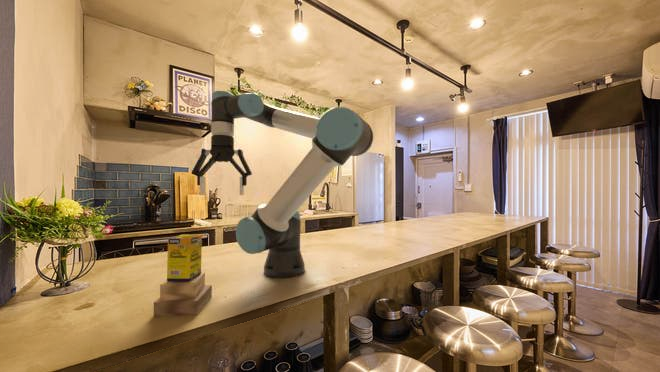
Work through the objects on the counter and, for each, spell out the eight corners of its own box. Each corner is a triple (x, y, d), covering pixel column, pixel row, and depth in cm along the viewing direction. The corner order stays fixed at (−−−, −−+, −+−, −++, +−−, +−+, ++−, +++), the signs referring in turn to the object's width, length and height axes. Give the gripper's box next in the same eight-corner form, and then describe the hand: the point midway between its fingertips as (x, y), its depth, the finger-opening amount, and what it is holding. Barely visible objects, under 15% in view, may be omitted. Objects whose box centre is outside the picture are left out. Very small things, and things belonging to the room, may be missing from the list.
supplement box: (190, 281, 63) (190, 238, 64) (166, 281, 63) (166, 238, 64) (201, 274, 69) (202, 234, 70) (180, 274, 69) (180, 234, 70)
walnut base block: (211, 299, 72) (211, 285, 72) (197, 316, 62) (197, 300, 62) (174, 300, 71) (174, 286, 71) (153, 319, 61) (153, 302, 61)
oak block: (204, 286, 71) (204, 272, 71) (195, 298, 63) (195, 282, 63) (173, 288, 69) (173, 273, 69) (159, 301, 62) (160, 284, 62)
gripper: (260, 138, 96) (259, 194, 96) (191, 137, 94) (190, 194, 93) (255, 134, 88) (255, 195, 88) (181, 132, 86) (180, 195, 86)
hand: (222, 195), depth 91 cm, fingers open, 13 cm apart
